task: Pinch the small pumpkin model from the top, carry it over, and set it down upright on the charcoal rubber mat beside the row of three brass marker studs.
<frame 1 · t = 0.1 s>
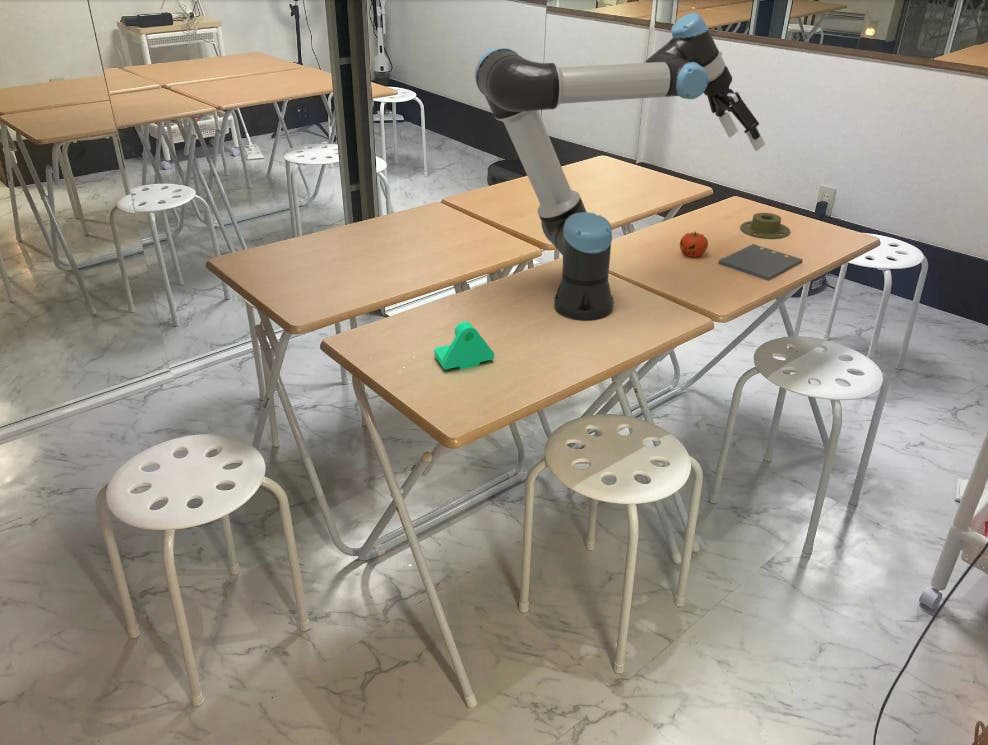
hand: (746, 140, 208), 36 cm above the table, tool tilted 35°, fingers open, 13 cm apart
flange: (764, 232, 251), on the table
camera mount: (463, 361, 183), on the table
mat: (760, 263, 229), on the table
pumpkin: (692, 255, 234), on the table
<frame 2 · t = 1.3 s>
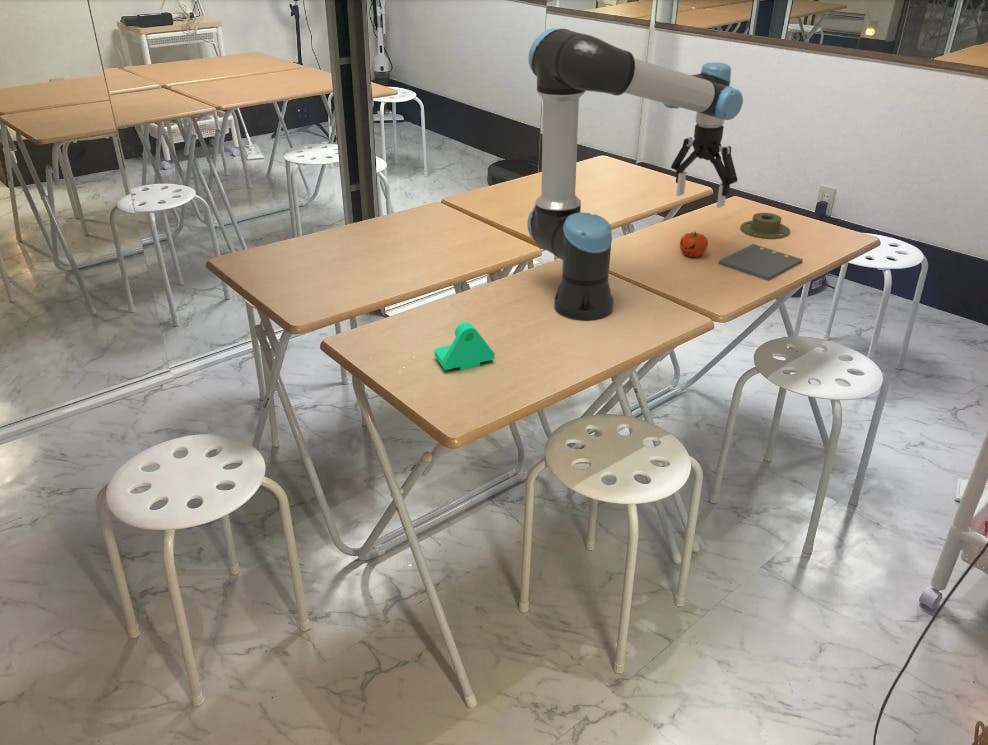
hand: (699, 200, 225), 16 cm above the table, tool pointing down, fingers open, 13 cm apart
nothing on the table moved.
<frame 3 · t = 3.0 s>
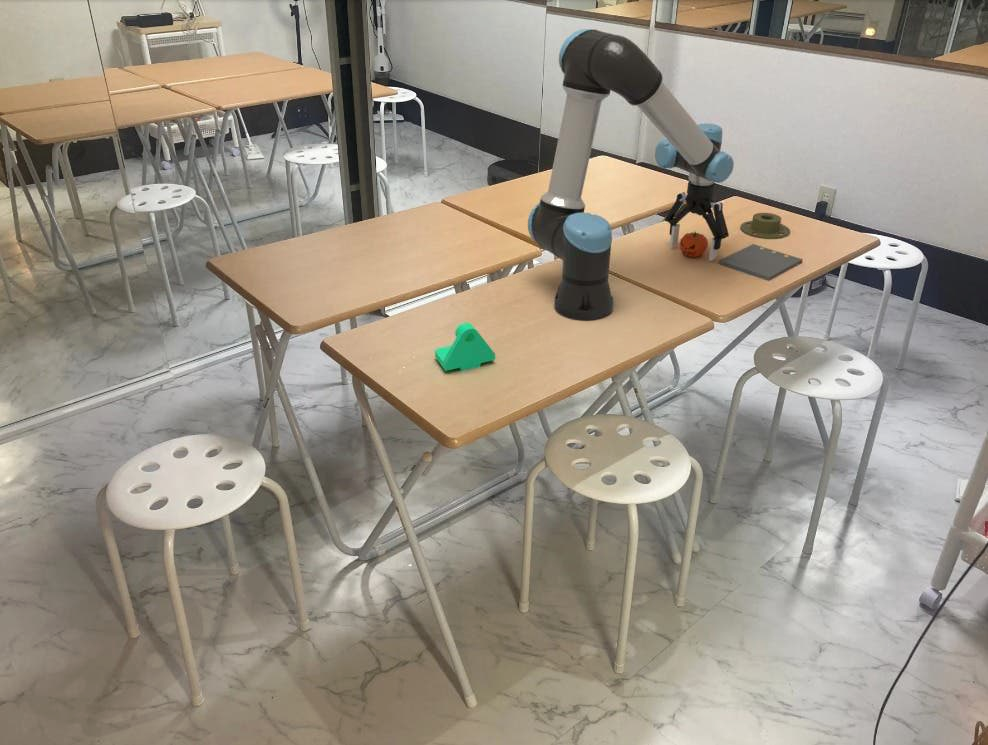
hand: (692, 252, 234), 1 cm above the table, tool pointing down, fingers open, 13 cm apart
nothing on the table moved.
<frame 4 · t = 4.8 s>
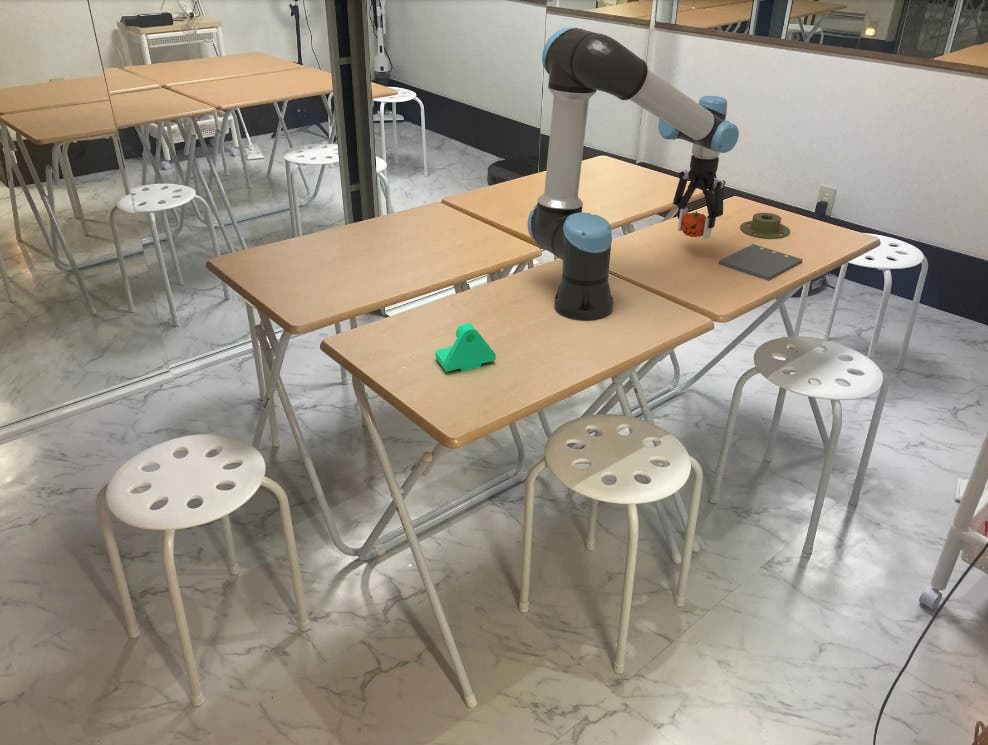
hand: (693, 233, 230), 7 cm above the table, tool pointing down, fingers closed on pumpkin, 8 cm apart
pumpkin: (693, 236, 231), point 6 cm above the table, touching gripper
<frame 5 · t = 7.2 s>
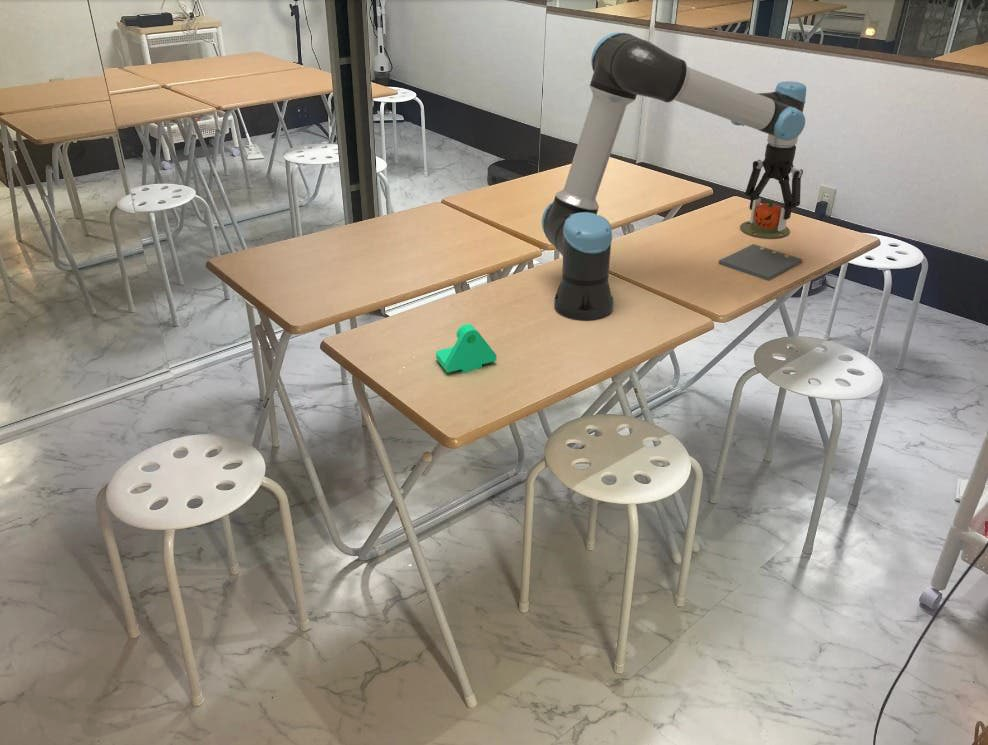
hand: (767, 225, 223), 11 cm above the table, tool pointing down, fingers closed on pumpkin, 8 cm apart
pumpkin: (766, 227, 223), point 11 cm above the table, touching gripper
when the fingers open (2 cm above the table, at t = 9.6 s): pumpkin stays where it is, resting on mat.
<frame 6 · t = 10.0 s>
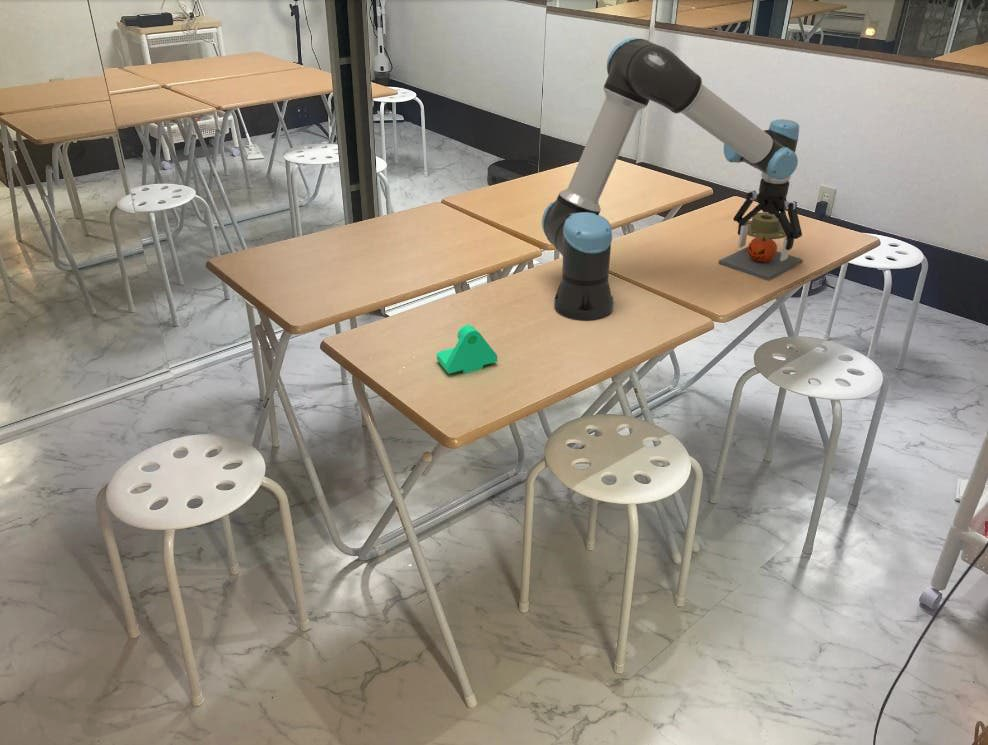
hand: (762, 252, 227), 3 cm above the table, tool pointing down, fingers open, 13 cm apart
pumpkin: (760, 260, 228), point 1 cm above the table, touching mat
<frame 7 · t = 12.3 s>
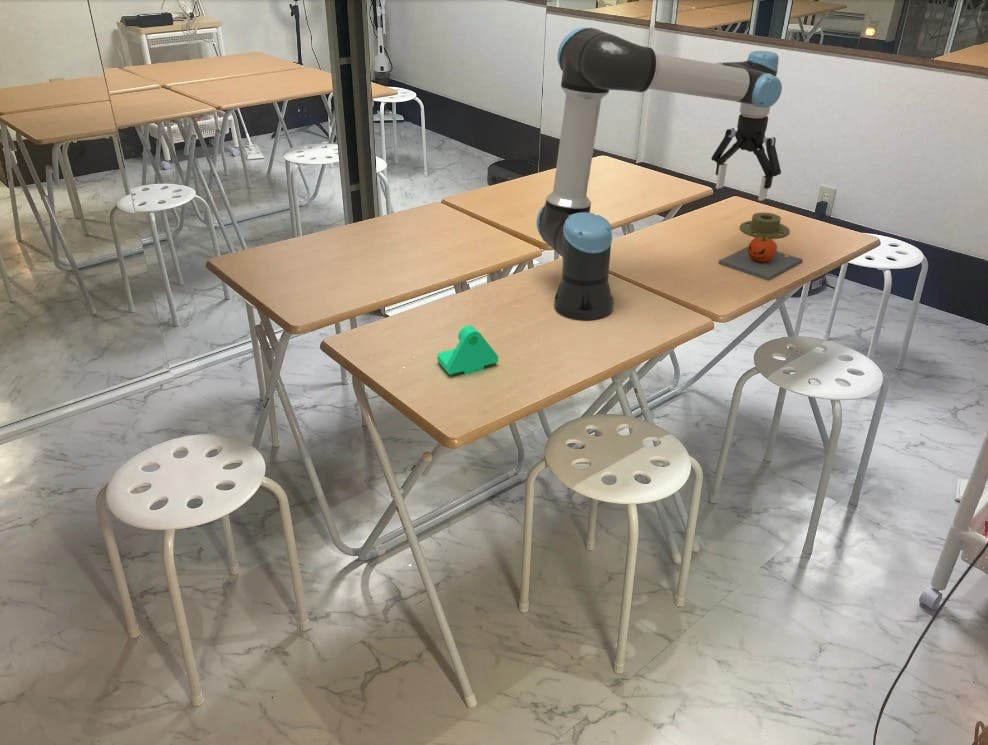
hand: (740, 193, 220), 20 cm above the table, tool pointing down, fingers open, 13 cm apart
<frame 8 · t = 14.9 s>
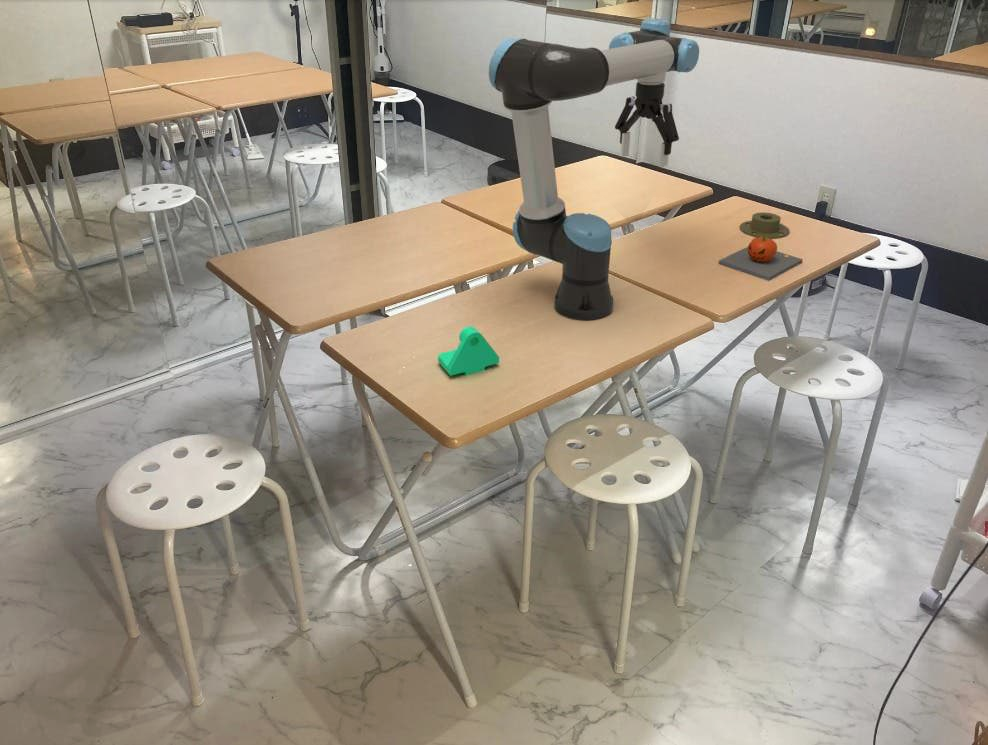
hand: (643, 160, 224), 27 cm above the table, tool pointing down, fingers open, 13 cm apart
at the end: pumpkin inside the target area on the mat (0.2 cm from its centre), point 0.8 cm above the mat's base; pumpkin tilted 0°; the gripper is holding nothing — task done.
